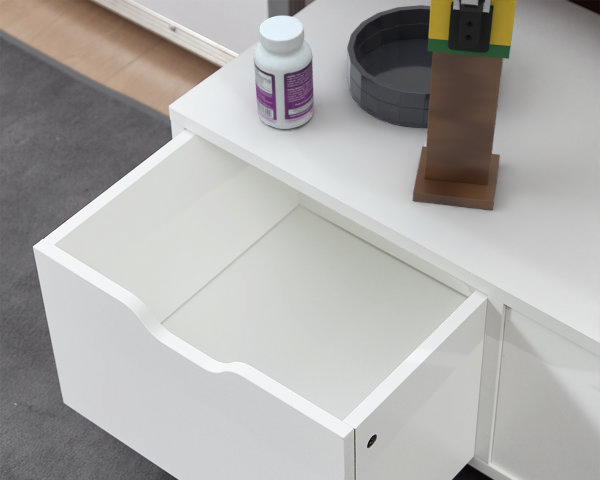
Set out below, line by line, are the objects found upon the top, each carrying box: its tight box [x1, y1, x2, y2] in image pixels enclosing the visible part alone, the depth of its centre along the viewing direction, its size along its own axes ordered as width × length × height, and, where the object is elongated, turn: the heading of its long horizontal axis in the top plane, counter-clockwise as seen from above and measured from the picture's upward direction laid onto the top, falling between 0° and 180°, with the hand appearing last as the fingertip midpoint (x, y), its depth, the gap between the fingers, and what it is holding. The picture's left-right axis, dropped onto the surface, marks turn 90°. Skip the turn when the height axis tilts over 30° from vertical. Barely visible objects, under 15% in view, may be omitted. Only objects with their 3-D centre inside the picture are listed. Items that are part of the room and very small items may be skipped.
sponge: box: [428, 0, 517, 60], centre depth 96 cm, size 6×4×5 cm, turn 79°
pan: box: [346, 4, 433, 129], centre depth 118 cm, size 14×14×4 cm
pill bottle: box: [253, 15, 315, 130], centre depth 113 cm, size 5×5×10 cm
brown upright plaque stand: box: [412, 52, 504, 211], centre depth 104 cm, size 7×6×15 cm
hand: (471, 29), depth 97 cm, fingers closed on sponge, 4 cm apart
